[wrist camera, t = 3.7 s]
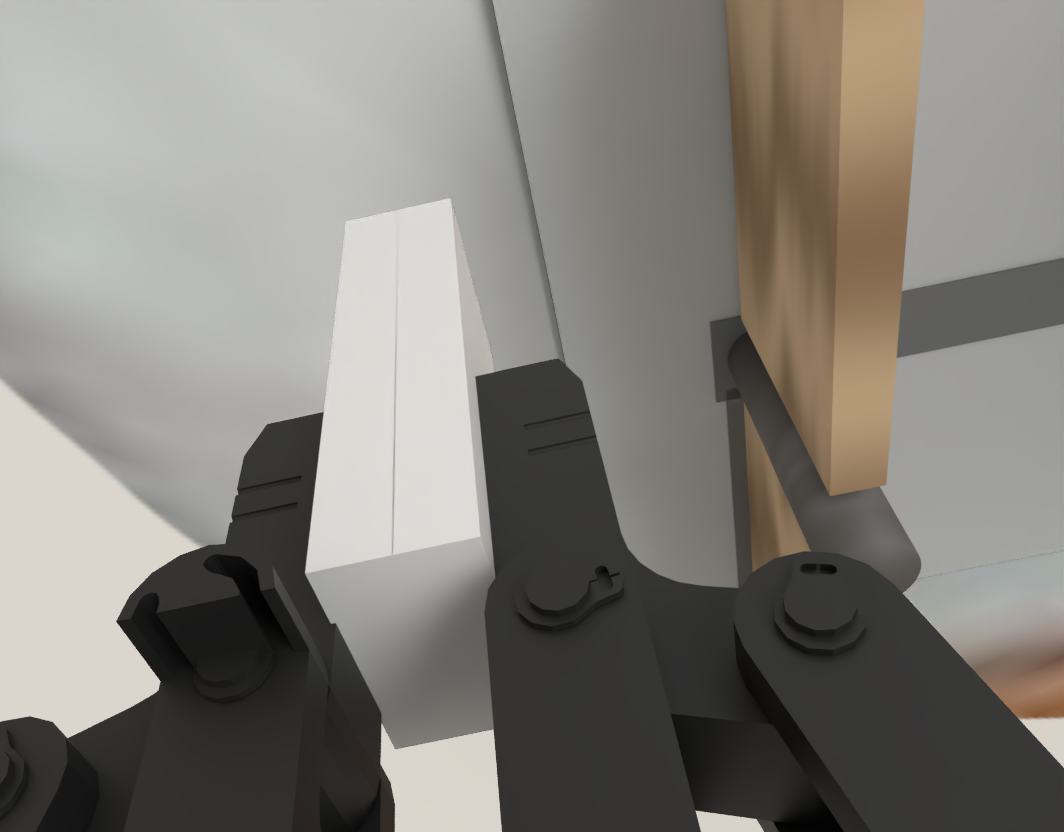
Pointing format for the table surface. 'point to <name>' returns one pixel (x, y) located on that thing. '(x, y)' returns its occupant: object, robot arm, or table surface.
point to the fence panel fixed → (807, 489)
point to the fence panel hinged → (826, 211)
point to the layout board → (713, 274)
